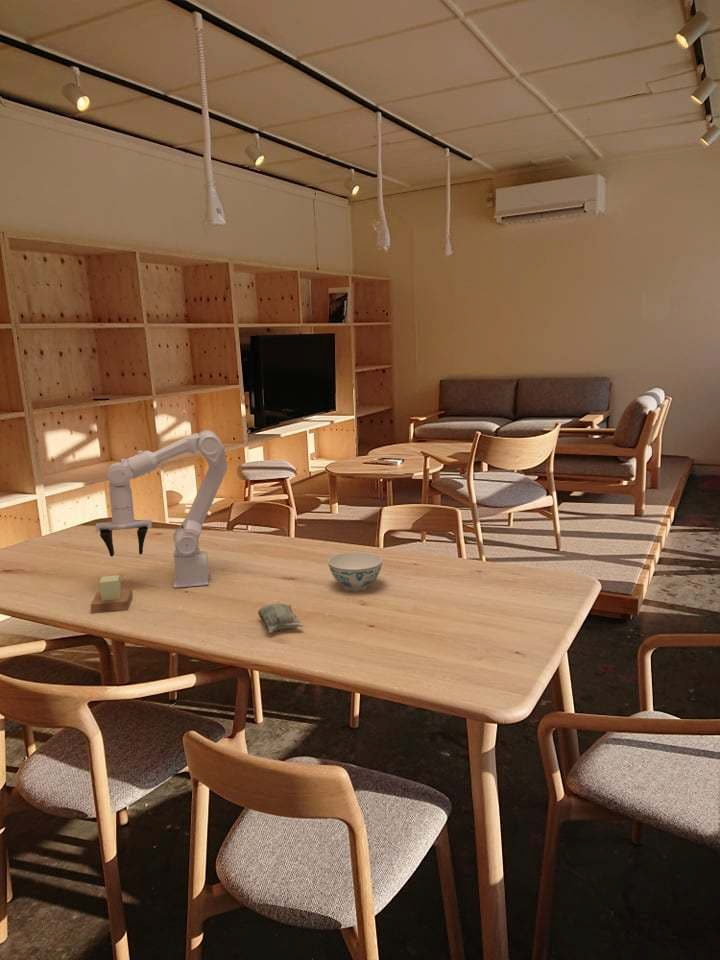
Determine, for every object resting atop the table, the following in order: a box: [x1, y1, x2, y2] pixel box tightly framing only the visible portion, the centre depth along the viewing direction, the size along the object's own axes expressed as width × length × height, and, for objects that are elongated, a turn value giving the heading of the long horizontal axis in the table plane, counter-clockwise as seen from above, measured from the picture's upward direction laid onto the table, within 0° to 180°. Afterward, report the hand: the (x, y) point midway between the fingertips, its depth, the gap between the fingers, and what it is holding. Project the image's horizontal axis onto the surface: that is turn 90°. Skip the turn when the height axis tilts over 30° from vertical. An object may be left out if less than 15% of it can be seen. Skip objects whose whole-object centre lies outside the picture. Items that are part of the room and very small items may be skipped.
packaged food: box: [257, 602, 304, 634], centre depth 168 cm, size 9×12×5 cm
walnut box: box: [90, 588, 134, 614], centre depth 184 cm, size 9×9×3 cm
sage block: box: [99, 574, 122, 601], centre depth 183 cm, size 4×4×5 cm
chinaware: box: [327, 551, 383, 592], centre depth 193 cm, size 15×15×8 cm
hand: (126, 554), depth 193 cm, fingers open, 7 cm apart
